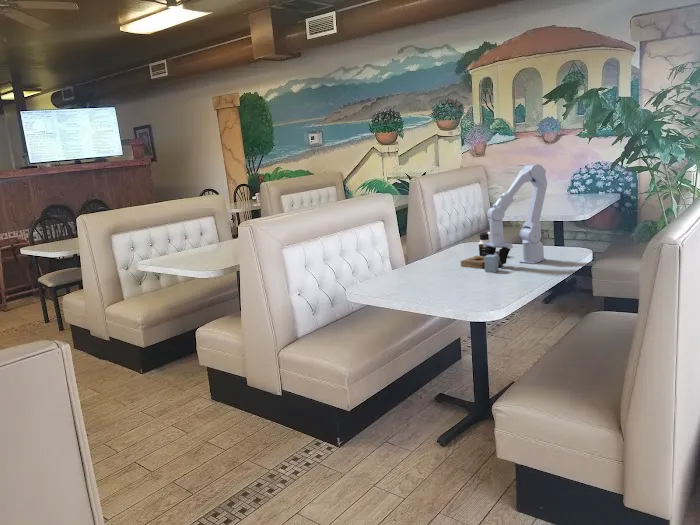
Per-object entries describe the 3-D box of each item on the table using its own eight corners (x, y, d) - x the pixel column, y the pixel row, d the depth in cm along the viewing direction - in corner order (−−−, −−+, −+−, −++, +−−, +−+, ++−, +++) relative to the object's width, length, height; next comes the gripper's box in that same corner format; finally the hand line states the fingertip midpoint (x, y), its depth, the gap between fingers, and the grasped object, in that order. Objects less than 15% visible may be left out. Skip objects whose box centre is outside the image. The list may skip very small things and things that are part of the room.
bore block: (476, 260, 273) (476, 255, 272) (497, 262, 263) (497, 257, 263) (461, 266, 265) (460, 261, 265) (481, 268, 256) (481, 263, 256)
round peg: (497, 265, 258) (496, 250, 257) (504, 266, 256) (503, 251, 254) (493, 267, 256) (492, 252, 255) (499, 267, 253) (498, 252, 252)
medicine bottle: (479, 257, 279) (477, 234, 276) (480, 254, 285) (478, 231, 283) (494, 257, 276) (492, 233, 274) (495, 254, 283) (493, 230, 281)
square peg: (489, 269, 253) (487, 254, 251) (498, 270, 250) (497, 254, 249) (485, 272, 249) (484, 256, 248) (494, 272, 246) (493, 256, 245)
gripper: (478, 234, 256) (480, 263, 259) (505, 236, 245) (507, 266, 248) (487, 232, 260) (489, 260, 263) (514, 233, 249) (516, 263, 252)
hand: (498, 263), depth 256 cm, fingers open, 5 cm apart
